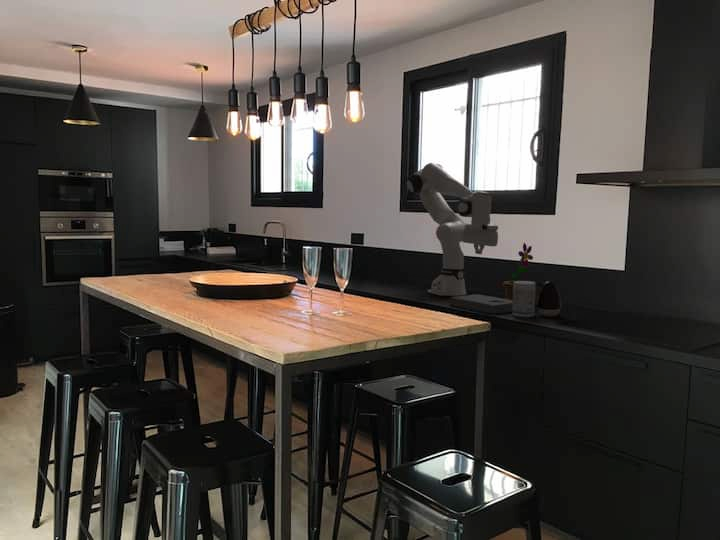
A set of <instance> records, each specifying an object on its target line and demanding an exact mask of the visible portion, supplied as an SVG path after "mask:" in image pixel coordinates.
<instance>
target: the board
mask: <svg viewBox="0 0 720 540" xmlns="http://www.w3.org/2000/svg"><path fill="white" fill-rule="evenodd" d="M495 302H500V303H495ZM449 303H450V305H456V306H460V307H466V308H470V309H474V310H473V311H475V310H478V311H477V312H479V311H482V312H481V313H484V312H486V314H489V313H492V314H491V315H498V314H497V313H500V314H505V313H506V312H508V313H512V308H513V300H508V299H506V298H502V297H501V298H500V297H496V296H488V295H484V294H466V295H460V296H450V302H449ZM460 307H459V308H460ZM470 309H469V310H470Z"/></svg>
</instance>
